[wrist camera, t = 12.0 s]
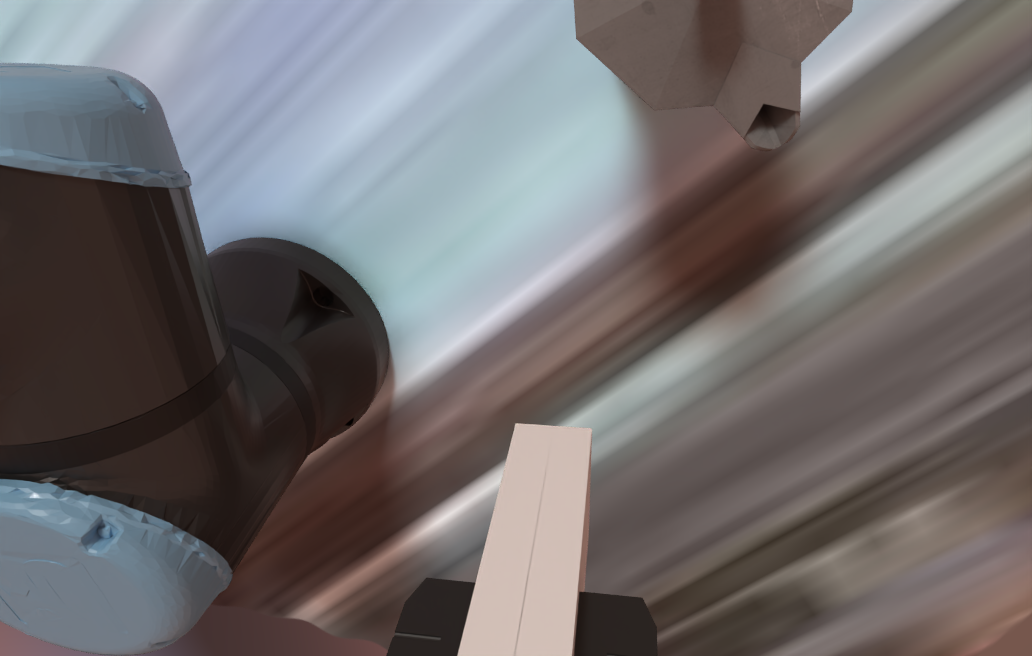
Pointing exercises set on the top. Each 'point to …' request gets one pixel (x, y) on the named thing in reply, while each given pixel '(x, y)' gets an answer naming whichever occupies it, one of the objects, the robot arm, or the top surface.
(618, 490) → the top surface
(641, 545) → the top surface
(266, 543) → the top surface
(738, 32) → the coffeepot
